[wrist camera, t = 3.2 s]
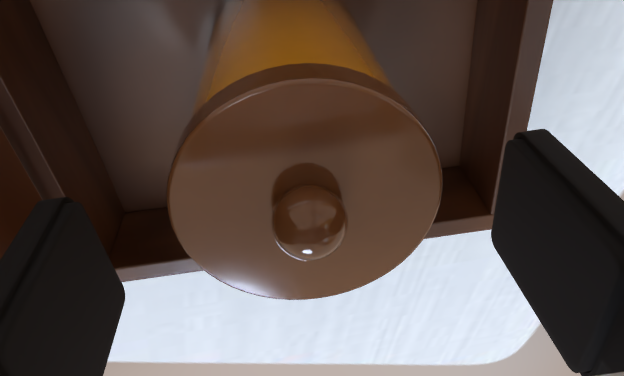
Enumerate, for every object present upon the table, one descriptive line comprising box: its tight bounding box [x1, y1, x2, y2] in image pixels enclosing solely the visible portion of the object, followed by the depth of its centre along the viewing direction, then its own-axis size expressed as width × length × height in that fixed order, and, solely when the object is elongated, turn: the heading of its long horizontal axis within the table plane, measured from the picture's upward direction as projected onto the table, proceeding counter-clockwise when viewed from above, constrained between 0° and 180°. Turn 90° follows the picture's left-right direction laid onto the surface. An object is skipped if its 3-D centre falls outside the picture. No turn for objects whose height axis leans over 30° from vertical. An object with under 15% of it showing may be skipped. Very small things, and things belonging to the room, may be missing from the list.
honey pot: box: [166, 0, 442, 300], centre depth 13 cm, size 6×6×10 cm
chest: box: [0, 0, 553, 282], centre depth 16 cm, size 17×14×4 cm
